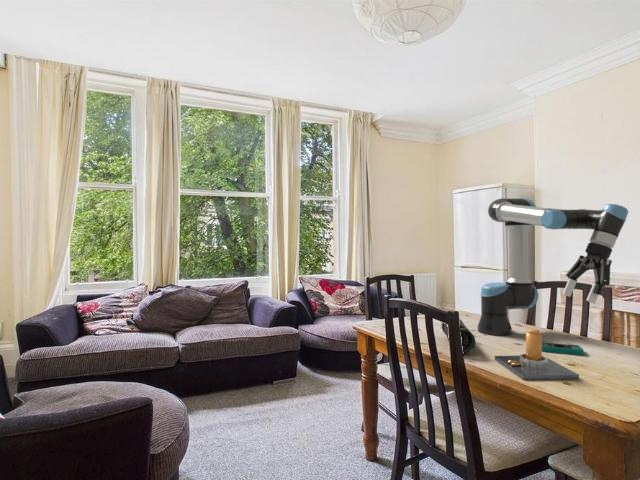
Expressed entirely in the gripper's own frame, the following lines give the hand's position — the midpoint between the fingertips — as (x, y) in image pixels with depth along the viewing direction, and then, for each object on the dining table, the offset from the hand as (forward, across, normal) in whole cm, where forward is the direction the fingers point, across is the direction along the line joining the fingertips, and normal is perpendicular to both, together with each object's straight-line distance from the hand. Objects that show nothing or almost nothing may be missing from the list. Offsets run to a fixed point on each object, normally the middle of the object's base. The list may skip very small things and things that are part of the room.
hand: (577, 298), depth 141 cm
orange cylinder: (+28, -9, +11) cm, 31 cm away
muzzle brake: (+36, +20, +26) cm, 49 cm away
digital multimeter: (+22, +11, -10) cm, 26 cm away
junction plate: (+29, -10, +11) cm, 32 cm away
